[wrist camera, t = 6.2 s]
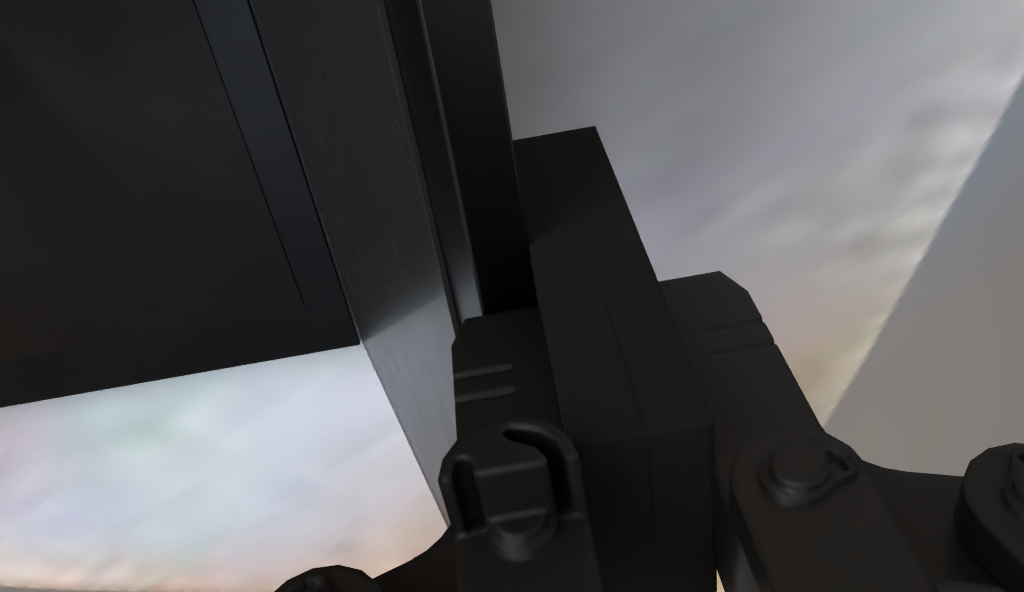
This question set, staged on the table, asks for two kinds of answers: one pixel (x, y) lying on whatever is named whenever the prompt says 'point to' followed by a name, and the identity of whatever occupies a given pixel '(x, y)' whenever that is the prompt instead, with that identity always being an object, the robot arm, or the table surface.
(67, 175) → the laptop
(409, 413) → the laptop screen
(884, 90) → the table surface
